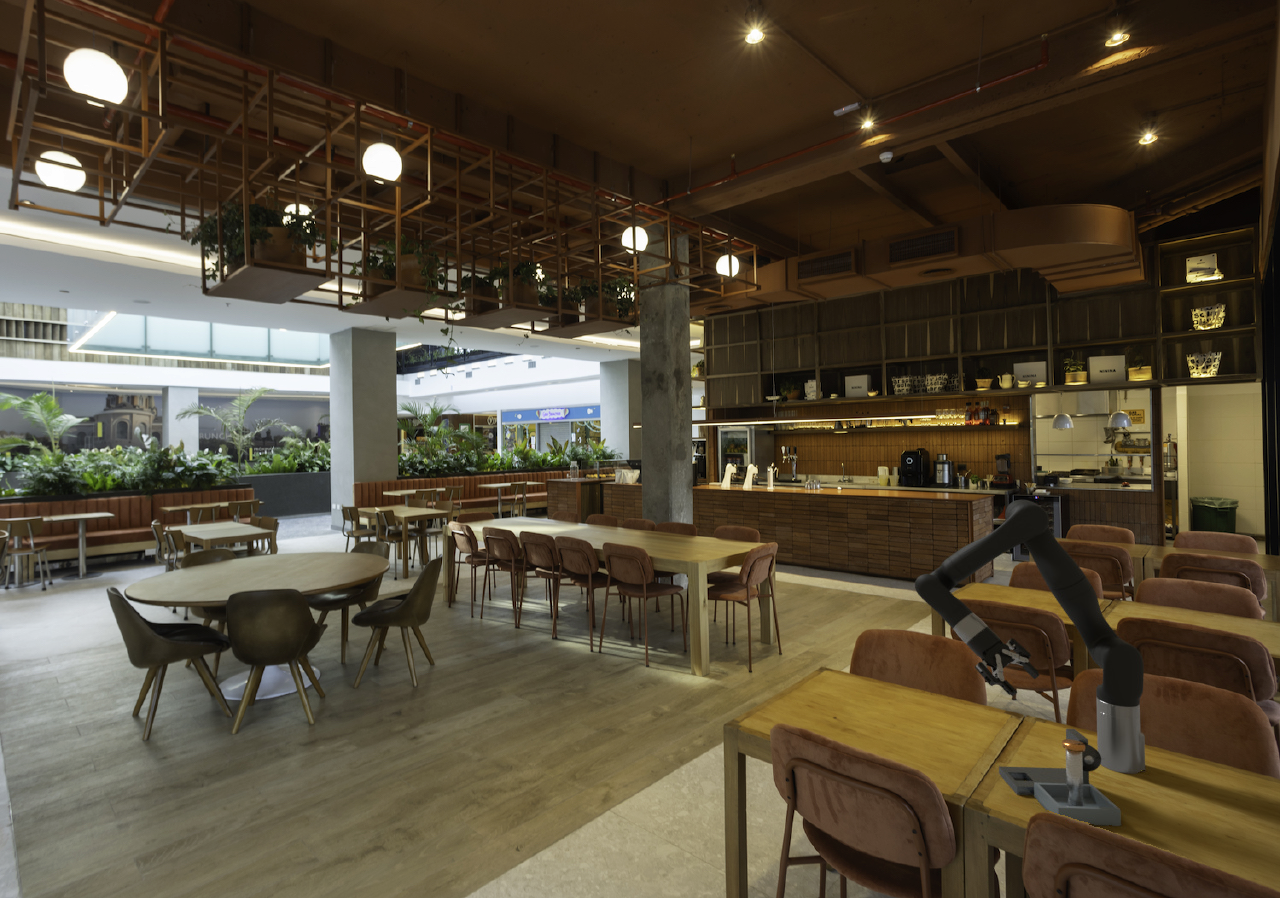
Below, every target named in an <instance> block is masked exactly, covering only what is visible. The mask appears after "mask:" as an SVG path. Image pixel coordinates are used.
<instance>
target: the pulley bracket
mask: <svg viewBox="0 0 1280 898" xmlns="http://www.w3.org/2000/svg"><path fill="white" fill-rule="evenodd" d="M1065 739H1071V740H1076V741H1080V742H1082V743H1084V744H1085V751H1084V752H1082V764H1083V784H1091V783H1090V773H1089V772H1094V771H1096V770H1097V769H1098V768H1099V767H1100V765H1101V756H1100V753H1099V752H1098V749H1096V748H1095V747H1094V746H1092V745H1091V744H1089V739H1088V738H1087V737H1086V736H1085V735H1083V734H1082V733H1081V732H1079V731H1078V730H1077V729H1075V728H1066V729H1065ZM999 774H1000V775H1001V776H1000V775H999ZM998 775H999V776H1000V777H1001V778H1002V779H1003V780H1004V782H1005V783H1006V784H1007V785H1008V787H1010V789H1012V791H1013V792H1014V793H1015V794H1016V795H1019V796H1034V783H1066V784H1067V782H1066V767H1065V768H1063V767H1061V768H1060V767H1036V766H1035V767H1032V766H1031V767H1028V766H1027V767H1026V766H1025V767H1024V766H1000V765H999V766H998ZM1024 780H1025V781H1024ZM1029 794H1030V795H1029Z"/></svg>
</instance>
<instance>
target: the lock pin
mask: <svg viewBox="0 0 1280 898" xmlns="http://www.w3.org/2000/svg"><path fill="white" fill-rule="evenodd" d="M1061 742H1062V747H1063V748H1064V749H1065V768H1066V782H1067V806H1081V807H1084V802H1083V764H1082V752H1084V751H1085V744H1084V743H1082V742H1080V741H1076V740H1071V739H1066V738H1065V739H1063V740H1062V741H1061Z"/></svg>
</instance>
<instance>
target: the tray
mask: <svg viewBox="0 0 1280 898" xmlns="http://www.w3.org/2000/svg"><path fill="white" fill-rule="evenodd" d="M1033 796H1034V799H1035V798H1036V799H1037V800H1038V801H1037V800H1036V799H1035V800H1036V801H1037V802H1038V803H1039V804H1040V805H1041V806H1042V807H1043V808H1044V809H1045V811H1047V810H1049V811H1052V812H1054V813H1057V814H1060V815H1065V816H1068V817H1071V818H1073V819H1077V820H1079V821H1084V822H1088V823H1090V824H1094V825H1093V826H1109V825H1112V826H1113V827H1116V826H1117V827H1121V825H1122V822H1121V821H1122V819H1121V818H1122V817H1121V813H1122V812H1121V809H1120V808H1119V807H1118V806H1117V805H1116V804H1115V803H1113V801H1111V800H1110V799H1109V798H1108V797H1107V796H1106V795H1105V794H1103V793H1102V792H1101V791H1100V790H1099V789H1098V788H1097V787H1095V786H1094V785H1093V784H1091V783H1090V784H1083V802H1084V807H1081V806H1067V784H1066V783H1034V795H1033Z"/></svg>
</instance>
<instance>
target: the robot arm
mask: <svg viewBox="0 0 1280 898" xmlns="http://www.w3.org/2000/svg"><path fill="white" fill-rule="evenodd" d="M1004 517H1005V521H1004V522H1003V523H1001V525H1000V526H999V527H997V528H996V529H994V530H993V531H991V532H990V533H988V534H987V535H985V536H983V537H981V538H979V539H977V540H974V541H972V542H970V543H968V544H967V545H965V546H963V547H962V548H960V549H958V550H957V551H956V552H954V553H953V554H952V555H950V556H948V557H947V558H946V559H945V560H944V561H942V563H941V565H940V566H939V567H938V568H936V569H935V570H933V571H932V572H930V573H925V574H923V573H922V574H921V575H919V576H918V577H917V578H916V580H915V581H914V589H915V592H916V594H917V595H918V596H919V597H920V598H921V599H922V600H923V601H924V602H925V603H926V604H927V605H929V607H931V608H932V609H933V610H934V611H935V612H936V613H937V614H939V615H940V617H941V618H942V619H943V620H944V621H945V622H946V623H947V625H948V626H949V627H951V628H952V629H953V631H954V632H955V634H956V635H957V636H958V637H959V638H960V639H961V640H962V642H963V643H964V644H966V646H968V648H969V649H970V650H971V651H972V652H973V653H974V654H975V655H976V656H977V657H978V658H980V659H981V660H982V661H978V663H976V665H975V666H974V668H975V670H976V671H977V672H978V673H979V674H980V675H981V676H982V678H983V679H984V680H985V681H986V682H987V684H988V685H989V686H990V687H991V686H992V687H993V686H995V685H998V686H999V687H1001V689H1002V690H1003V691H1004V692H1005V693H1006V694H1008V695H1009V696H1011V697H1014V696H1015V695H1016V694H1018V690H1016V689H1015V688H1014V686H1013V685H1012V684H1011V683H1010V682H1009V681H1008V680H1007V679H1005V676H1004V669H1005V668H1006V667H1007V666H1009V665H1010V664H1013V665H1014V664H1016V665H1019V666H1022V669H1023V670H1025V672H1027V673H1028V674H1029V676H1030V677H1031V678H1032V679H1033V680H1036V679H1037V678H1038V677H1039V676H1040V673H1039V671H1038V669H1036V668H1035V666H1034V665H1033V664H1032V663H1030V658H1031V657H1032V654H1031V652H1029V651H1028V650H1027V649H1026V648H1025V647H1024V646H1022V644H1020V643H1019V642H1018V641H1017V640H1016V639H1015V638H1010V639H1009V640H1008V641H1007V642H1006V643H1004V642H1003V641H1002V640H1001V638H1000V637H999V636H998V635H997V633H996V632H994V631H993V630H992V629H991V628H990V627H989V626H988V624H986V623H985V622H984V621H983V619H982V618H980V616H978V615H976V614H975V613H974V612H973V611H972V610H971V609H970V608H969V607H968V606H967V605H966V604H965V603H964V602H963V601H962V600H961V599H959V598H958V597H956V596H955V595H954V594H953V593H952V592H951V591H952V590H953V589H955V587H956V586H957V585H959V584H960V583H961V582H962V581H964V580H966V579H967V578H969V577H970V576H972V575H973V574H975V573H976V572H978V570H980V569H982V568H983V567H985V566H986V565H987V564H989V563H990V562H992V561H993V560H994V559H997V558H998V557H1000V556H1001V555H1003V554H1005V553H1006V552H1009V550H1011V549H1013V548H1015V547H1017V546H1019V545H1021V544H1023V545H1024V546H1025V547H1026V549H1027V550H1028V552H1029V554H1030V555H1031V557H1032V559H1033V562H1034V563H1035V566H1036V567H1037V569H1038V571H1039V573H1040V575H1041V577H1042V579H1043V580H1044V581H1045V583H1046V585H1047V587H1048V589H1049V590H1050V592H1051V594H1052V595H1053V597H1054V598H1055V599H1056V601H1057V602H1058V604H1059V606H1060V607H1061V608H1062V610H1063V611H1064V612H1065V614H1066V616H1067V617H1068V618H1069V620H1070V621H1071V622H1072V623H1073V625H1074V626H1075V627H1076V629H1077V631H1078V633H1079V634H1080V636H1081V638H1082V641H1083V642H1084V644H1085V647H1086V649H1087V651H1088V653H1089V656H1091V658H1092V660H1093V661H1094V663H1095V664H1096V665H1097V666H1098V667H1100V669H1102V683H1101V684H1098V685H1097V686H1096V692H1095V693H1096V694H1095V695H1096V734H1097V735H1096V736H1097V737H1096V738H1097V742H1096V743H1097V744H1096V745H1097V751H1098V752H1099V753H1100V756H1101V764H1100V765H1101V766H1102V767H1104V768H1106V769H1107V770H1108V769H1109V770H1111V771H1112V772H1117V773H1121V774H1128V775H1129V774H1133V775H1134V774H1139V773H1140V771H1141V770H1145V771H1146V749H1145V745H1146V743H1145V734H1144V733H1143V732H1141V709H1140V708H1141V707H1140V706H1141V705H1140V701H1141V697H1142V695H1143V692H1144V677H1145V676H1144V671H1145V669H1144V666H1145V664H1144V659H1143V656H1142V654H1141V652H1140V650H1139V649H1137V647H1135V646H1134V645H1132V644H1130V643H1128V642H1127V641H1125V640H1124V639H1121V638H1120V636H1119V635H1117V633H1116V632H1115V630H1113V628H1112V627H1111V626H1110V624H1109V622H1108V621H1107V620H1106V618H1105V617H1104V615H1103V612H1102V610H1101V607H1100V602H1099V599H1098V596H1097V593H1096V591H1095V589H1094V587H1093V585H1092V583H1091V582H1090V580H1089V578H1088V577H1087V576H1086V575H1085V573H1084V572H1083V570H1082V569H1081V567H1080V566H1079V565H1078V564H1077V562H1076V560H1075V559H1073V557H1072V556H1071V555H1070V554H1069V553H1068V551H1066V550H1065V549H1064V547H1062V545H1061V544H1060V542H1058V540H1057V539H1056V537H1055V536H1054V534H1053V533H1052V530H1051V529H1050V527H1049V524H1050V518H1049V515H1048V513H1047V511H1046V510H1045V509H1044V508H1043V507H1042V506H1040V505H1039V504H1038V503H1035V502H1034V501H1032V500H1027V499H1017V500H1014V501H1012V502H1011V503H1009V504H1008V505H1007V507H1006V509H1005V514H1004ZM1011 650H1012V651H1013V652H1012V651H1011ZM988 667H990V669H991V671H990V669H988ZM1138 772H1139V773H1138ZM1141 772H1142V771H1141Z"/></svg>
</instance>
